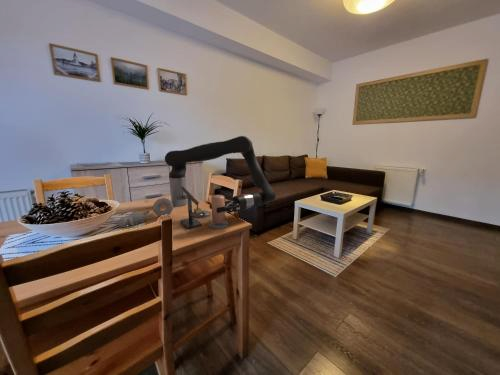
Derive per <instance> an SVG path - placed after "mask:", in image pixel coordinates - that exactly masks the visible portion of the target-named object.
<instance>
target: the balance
mask: <svg viewBox="0 0 500 375" xmlns="http://www.w3.org/2000/svg"><path fill="white" fill-rule="evenodd" d="M181 190H182V195H180V196H177V197H176V198H177V199H179V200H183V199H187V211H188V212H187V213H188V218H185V219H181V220H180V221H179V224H180V225H182V226H183V227H184V228H186V230H188V231H189V230H192V229H193V230H194V229H196V228H200V227H203V223H202V222H201V221H199V219H196V218H197V217H201V216H204V215H205V212H203V211H201V210H202V208H200V207H199V203H200V202H199V201H198V200H197V199H196V198H195V197H194V196H193V195H192V194H191V193H190V192H189V191H188V190H187V188H186V189H185V188H184V187H181ZM183 192H184V193H185V194H186V195H183ZM192 202H193V203H194V205H195V206H196V207H195V208H193V204H192Z"/></svg>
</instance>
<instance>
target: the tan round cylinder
mask: <svg viewBox="0 0 500 375" xmlns="http://www.w3.org/2000/svg"><path fill="white" fill-rule="evenodd" d="M224 199H225V195H222V194H214V195H211V197H210V200H211V203H210V204H211V205H212V209H211V219H212V220H211V221H212V222H213V223H217V224H218V223H223V222H225V221H226V212H225V211H224V212H220V213H217V210H216V209H217V208H219V207H223V206H224V207H225V202H224Z"/></svg>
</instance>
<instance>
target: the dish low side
mask: <svg viewBox="0 0 500 375" xmlns="http://www.w3.org/2000/svg"><path fill="white" fill-rule="evenodd" d="M208 223H209V224H208V227H209V228H210V229H213V230H222V229H226V228H227V227H229V222H228V221H227V220H225V222H223V223H218V224H217V223H213V222H212V220H211V221H210V222H208Z"/></svg>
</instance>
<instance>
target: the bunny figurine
mask: <svg viewBox="0 0 500 375" xmlns="http://www.w3.org/2000/svg"><path fill="white" fill-rule="evenodd" d="M154 214H155V213H153V212H152V213H150V210H146V211H144V212H141V211H133V212H130V214H128V215H125V216H122V217H120V218H119V219H118V220H117V221H116V224H117V226H119V227H121V228H126V227H125V226H127V225H129V226H134V225H137V224H136V223H139V224H142V223H143V222H144V220H145V218H152V217H154V216H155V215H154ZM141 222H142V223H141Z"/></svg>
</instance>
